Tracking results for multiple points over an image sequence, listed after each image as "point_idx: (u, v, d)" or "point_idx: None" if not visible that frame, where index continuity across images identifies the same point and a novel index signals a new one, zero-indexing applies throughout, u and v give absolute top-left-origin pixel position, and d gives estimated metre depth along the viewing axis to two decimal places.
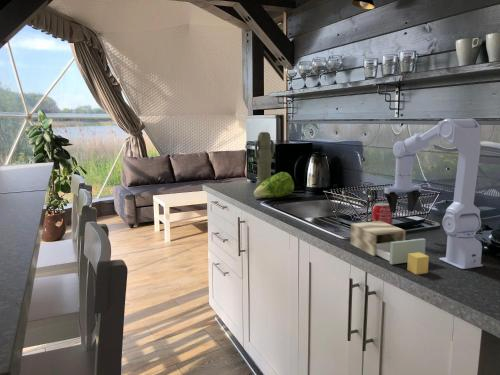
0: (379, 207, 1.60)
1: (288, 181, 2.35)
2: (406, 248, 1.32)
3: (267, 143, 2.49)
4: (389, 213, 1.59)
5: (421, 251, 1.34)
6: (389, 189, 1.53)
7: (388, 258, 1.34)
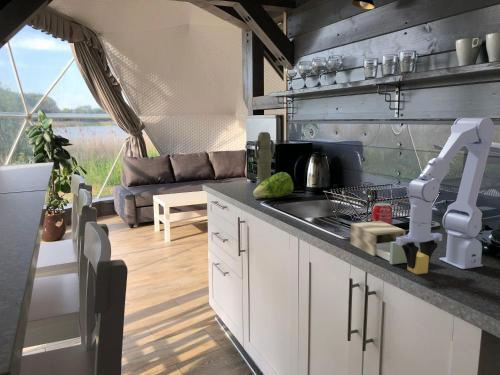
0: (379, 207, 1.60)
1: (287, 181, 2.34)
2: None
3: (267, 143, 2.49)
4: (389, 213, 1.59)
5: None
6: (402, 240, 1.21)
7: (388, 258, 1.34)
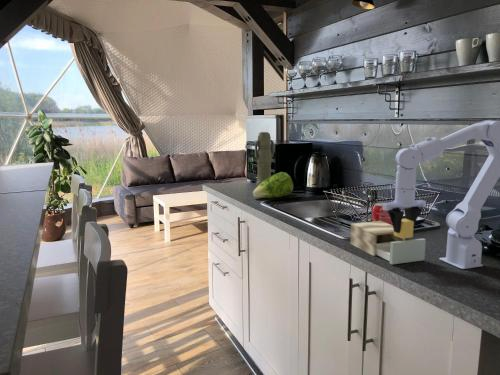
0: (379, 207, 1.60)
1: (287, 181, 2.34)
2: (406, 248, 1.32)
3: (267, 143, 2.49)
4: None
5: (421, 251, 1.34)
6: (388, 205, 1.29)
7: (388, 258, 1.34)
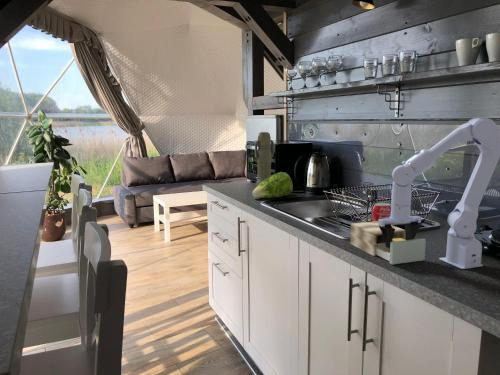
0: (379, 207, 1.60)
1: (287, 181, 2.34)
2: (406, 248, 1.32)
3: (267, 143, 2.49)
4: (389, 213, 1.59)
5: (421, 251, 1.34)
6: (384, 221, 1.32)
7: (388, 258, 1.34)
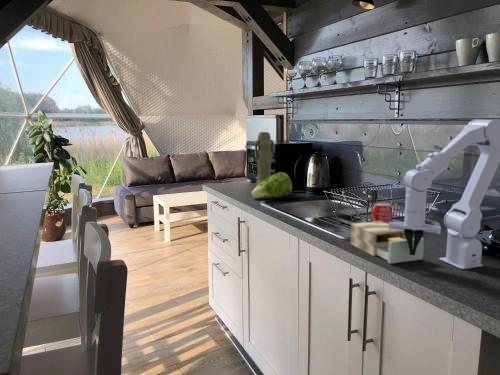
0: (379, 207, 1.60)
1: (286, 181, 2.34)
2: (404, 247, 1.32)
3: (267, 143, 2.49)
4: (389, 213, 1.59)
5: (419, 250, 1.34)
6: (391, 224, 1.31)
7: (386, 257, 1.35)
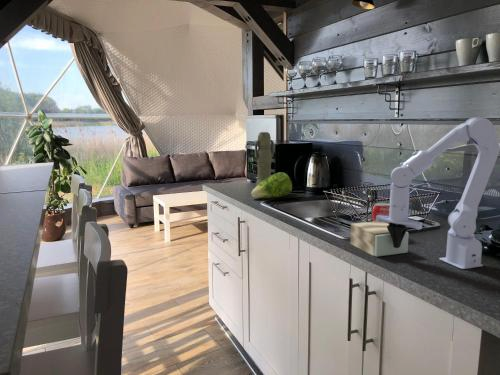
0: (379, 207, 1.60)
1: (286, 181, 2.34)
2: (390, 241, 1.39)
3: (267, 143, 2.49)
4: None
5: (404, 244, 1.41)
6: (377, 217, 1.40)
7: None
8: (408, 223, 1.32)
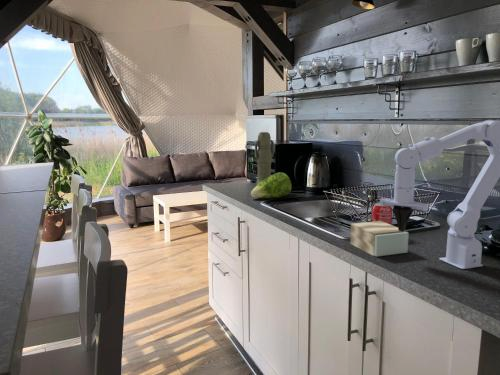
0: (379, 207, 1.60)
1: (285, 181, 2.34)
2: (390, 241, 1.39)
3: (267, 143, 2.49)
4: (389, 213, 1.59)
5: (404, 244, 1.41)
6: (381, 200, 1.37)
7: None
8: (414, 205, 1.29)
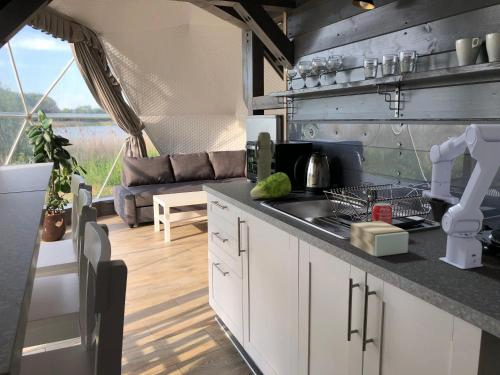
0: (379, 207, 1.60)
1: (285, 181, 2.33)
2: (390, 241, 1.39)
3: (267, 143, 2.49)
4: (389, 213, 1.59)
5: (404, 244, 1.41)
6: (423, 192, 1.50)
7: None
8: (444, 198, 1.40)
